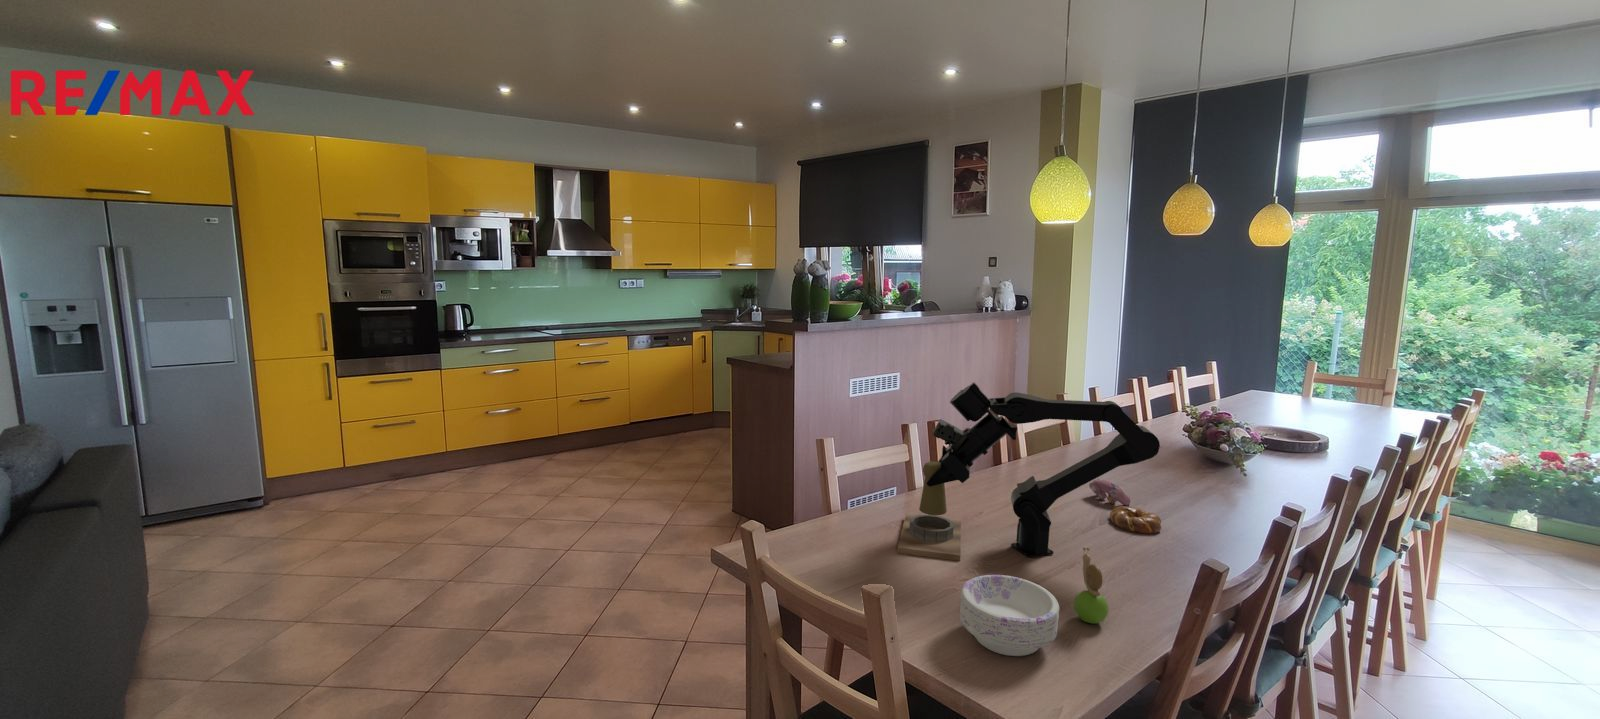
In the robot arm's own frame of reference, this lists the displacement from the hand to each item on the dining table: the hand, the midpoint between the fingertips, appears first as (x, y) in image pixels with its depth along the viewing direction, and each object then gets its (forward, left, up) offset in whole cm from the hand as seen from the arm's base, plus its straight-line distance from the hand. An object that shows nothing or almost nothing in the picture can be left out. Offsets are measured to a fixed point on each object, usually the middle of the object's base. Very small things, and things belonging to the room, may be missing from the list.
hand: (928, 481), depth 147 cm
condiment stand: (-1, -1, -13) cm, 13 cm away
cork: (-1, -1, -7) cm, 7 cm away
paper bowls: (-41, +9, -13) cm, 44 cm away
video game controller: (+8, -61, -14) cm, 63 cm away
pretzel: (-8, -53, -14) cm, 56 cm away
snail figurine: (-40, -9, -13) cm, 43 cm away
